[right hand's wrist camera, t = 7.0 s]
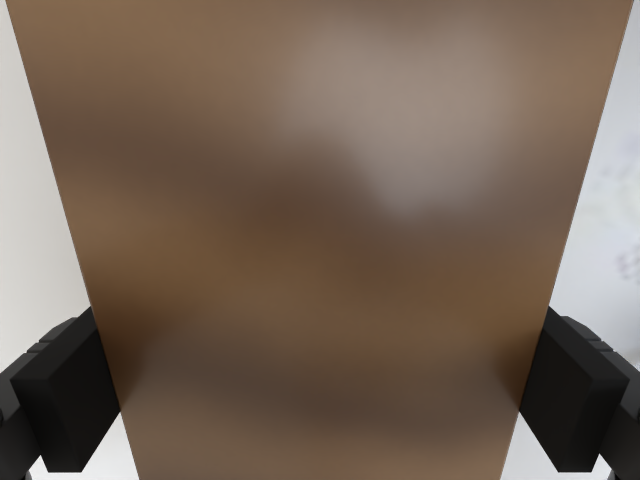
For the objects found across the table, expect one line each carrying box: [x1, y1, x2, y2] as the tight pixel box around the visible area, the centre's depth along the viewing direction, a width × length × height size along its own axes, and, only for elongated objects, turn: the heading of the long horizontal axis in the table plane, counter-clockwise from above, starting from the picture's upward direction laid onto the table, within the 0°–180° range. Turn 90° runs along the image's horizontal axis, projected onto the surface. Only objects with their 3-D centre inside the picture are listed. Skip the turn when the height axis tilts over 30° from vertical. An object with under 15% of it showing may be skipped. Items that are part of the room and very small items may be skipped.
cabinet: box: [6, 0, 634, 480], centre depth 12 cm, size 20×11×10 cm, turn 0°
